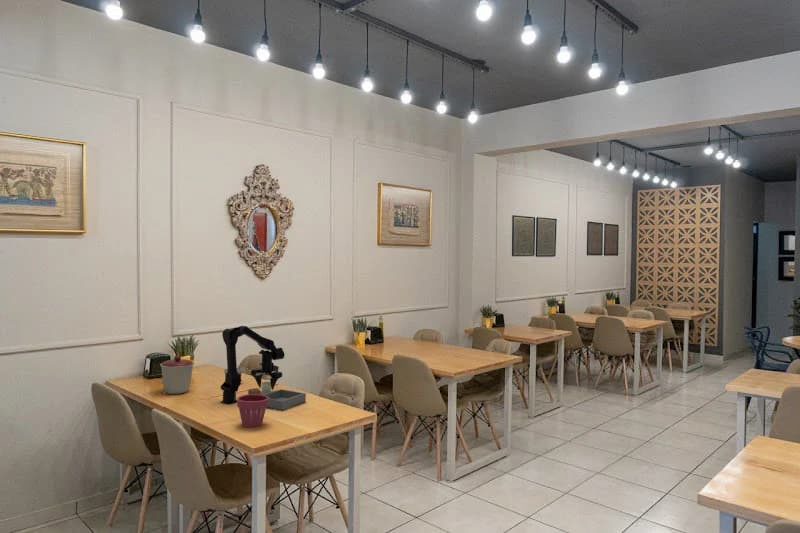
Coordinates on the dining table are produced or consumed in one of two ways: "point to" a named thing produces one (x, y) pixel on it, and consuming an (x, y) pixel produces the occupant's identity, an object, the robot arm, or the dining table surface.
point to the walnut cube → (254, 391)
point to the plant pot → (252, 409)
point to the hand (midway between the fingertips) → (266, 388)
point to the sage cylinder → (266, 387)
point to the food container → (237, 370)
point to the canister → (176, 375)
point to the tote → (284, 399)
